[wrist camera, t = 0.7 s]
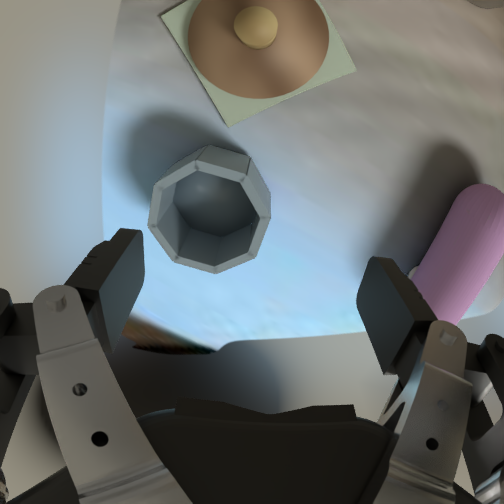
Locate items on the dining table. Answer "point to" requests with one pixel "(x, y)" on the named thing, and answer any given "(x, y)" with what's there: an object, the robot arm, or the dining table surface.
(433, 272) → the toy
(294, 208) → the dining table surface
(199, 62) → the lid
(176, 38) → the mat
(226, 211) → the cup
